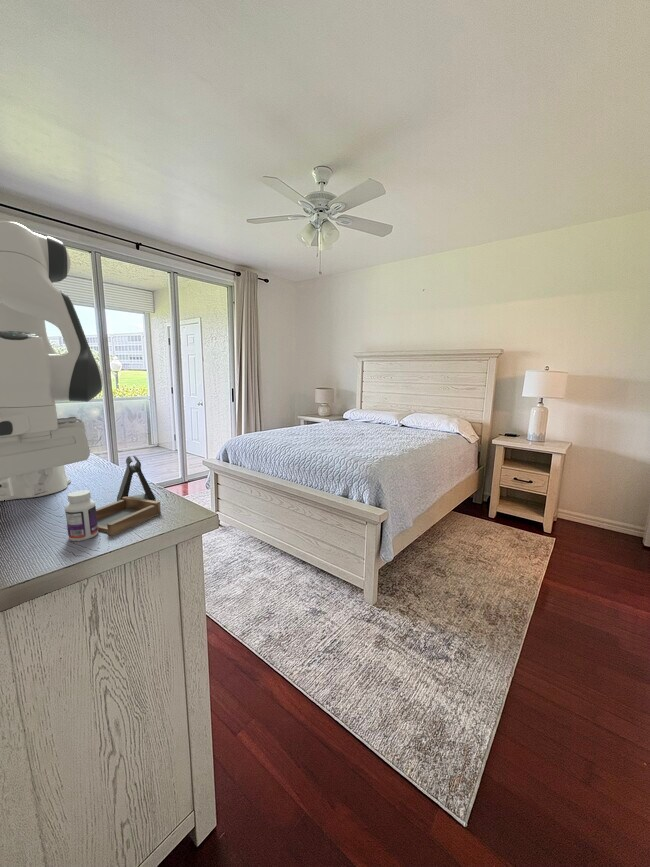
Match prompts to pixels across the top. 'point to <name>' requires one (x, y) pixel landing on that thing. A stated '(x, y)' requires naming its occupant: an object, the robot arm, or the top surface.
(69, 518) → the pill bottle
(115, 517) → the mat
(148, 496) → the phone stand
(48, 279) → the robot arm
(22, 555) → the top surface
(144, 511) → the tray
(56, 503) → the top surface
